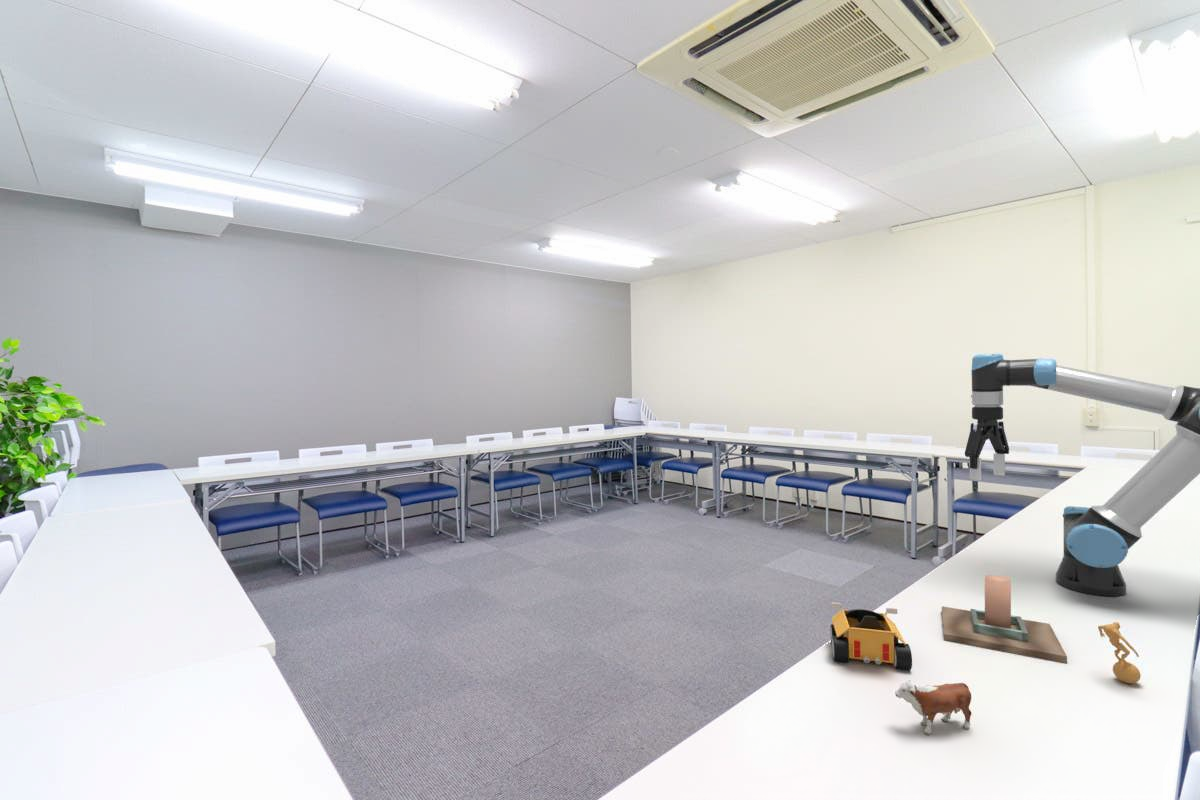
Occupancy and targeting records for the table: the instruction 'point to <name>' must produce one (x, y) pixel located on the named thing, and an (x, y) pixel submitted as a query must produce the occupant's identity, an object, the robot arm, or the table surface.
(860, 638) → the race car
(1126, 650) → the figurine
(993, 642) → the jig board
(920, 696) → the bull figurine
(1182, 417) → the robot arm
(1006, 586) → the pink rounded cylinder
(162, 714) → the table surface
